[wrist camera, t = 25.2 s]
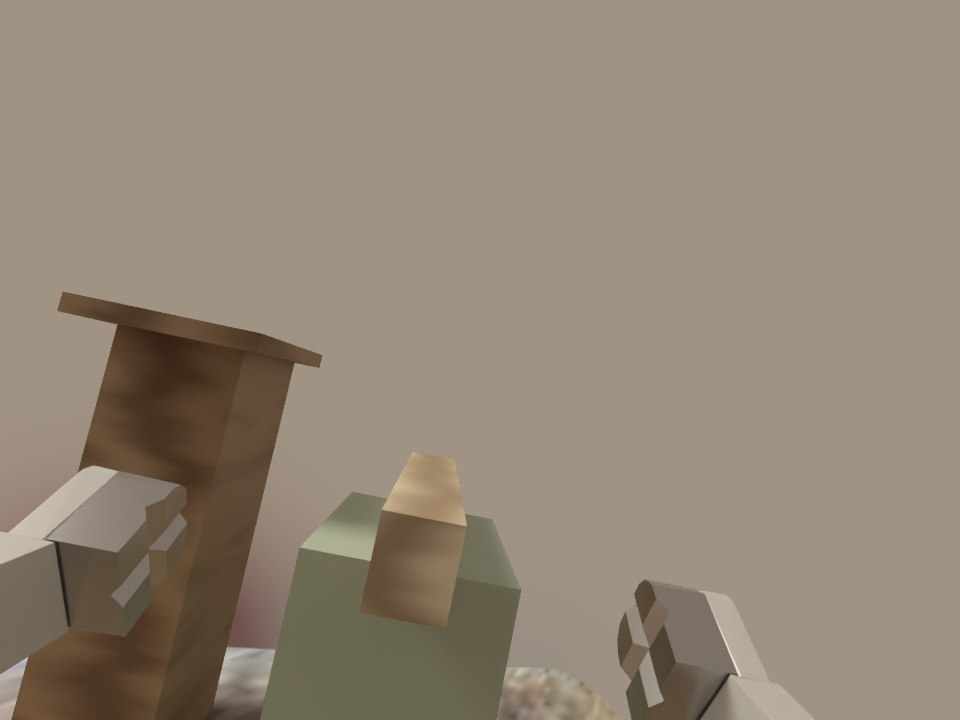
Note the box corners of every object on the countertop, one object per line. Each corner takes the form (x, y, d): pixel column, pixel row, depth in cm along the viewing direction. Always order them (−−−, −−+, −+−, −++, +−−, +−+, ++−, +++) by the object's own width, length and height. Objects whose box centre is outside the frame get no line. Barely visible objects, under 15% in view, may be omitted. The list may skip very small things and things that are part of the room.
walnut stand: (-89, 834, 25) (62, 291, 27) (102, 677, 39) (191, 327, 41) (130, 868, 25) (261, 333, 27) (241, 701, 39) (322, 355, 41)
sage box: (203, 961, 22) (299, 547, 24) (296, 743, 36) (352, 491, 37) (441, 996, 23) (521, 589, 24) (441, 768, 37) (492, 519, 38)
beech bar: (358, 613, 18) (381, 509, 18) (402, 500, 38) (413, 451, 38) (446, 629, 18) (467, 526, 19) (444, 508, 38) (454, 460, 39)
